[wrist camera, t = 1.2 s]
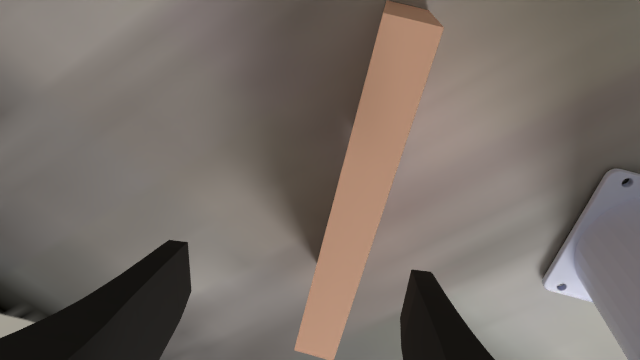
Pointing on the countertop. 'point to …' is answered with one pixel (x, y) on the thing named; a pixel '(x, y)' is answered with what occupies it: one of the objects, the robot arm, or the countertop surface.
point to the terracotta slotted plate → (368, 169)
